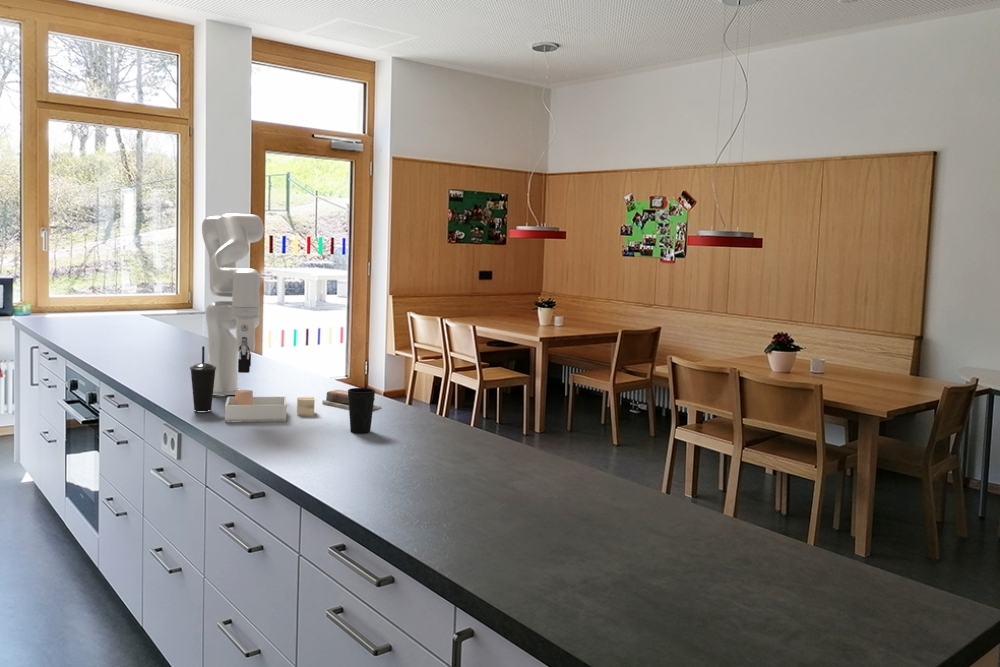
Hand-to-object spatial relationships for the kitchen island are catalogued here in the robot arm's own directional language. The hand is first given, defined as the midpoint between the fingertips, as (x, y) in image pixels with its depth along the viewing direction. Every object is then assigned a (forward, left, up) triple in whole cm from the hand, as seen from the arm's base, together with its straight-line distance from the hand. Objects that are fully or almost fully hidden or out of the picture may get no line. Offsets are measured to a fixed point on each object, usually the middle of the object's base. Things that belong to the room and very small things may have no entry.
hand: (244, 369), depth 243 cm
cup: (+21, +33, -15) cm, 41 cm away
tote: (+1, +4, -14) cm, 15 cm away
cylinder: (0, 0, -14) cm, 14 cm away
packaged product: (-15, +33, -15) cm, 40 cm away
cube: (-4, +18, -15) cm, 24 cm away
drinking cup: (-9, -12, -15) cm, 21 cm away
